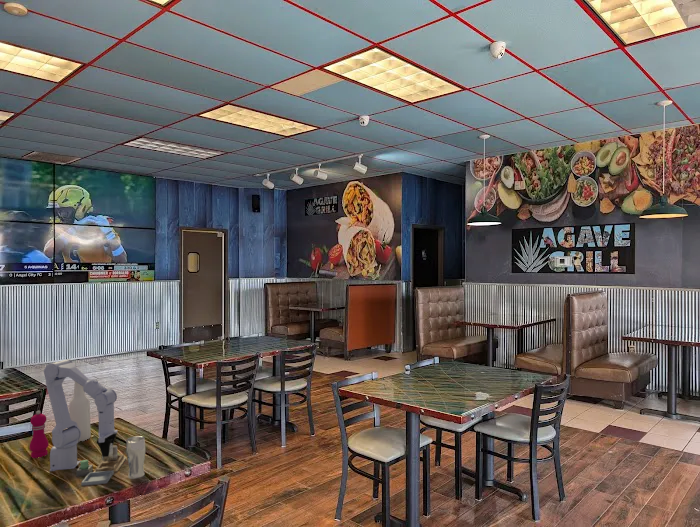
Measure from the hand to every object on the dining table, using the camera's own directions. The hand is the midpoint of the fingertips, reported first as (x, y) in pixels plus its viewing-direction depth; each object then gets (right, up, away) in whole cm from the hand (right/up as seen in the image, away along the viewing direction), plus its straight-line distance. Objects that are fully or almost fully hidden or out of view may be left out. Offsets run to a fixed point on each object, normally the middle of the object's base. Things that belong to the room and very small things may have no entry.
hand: (107, 454), depth 204 cm
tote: (+1, -7, -9) cm, 11 cm away
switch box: (-7, -7, -3) cm, 11 cm away
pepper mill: (-39, -8, +18) cm, 43 cm away
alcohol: (-31, -7, +38) cm, 49 cm away
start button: (-7, -6, -3) cm, 10 cm away
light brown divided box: (-1, -7, +3) cm, 8 cm away
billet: (0, -2, 0) cm, 2 cm away
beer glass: (+14, -7, -6) cm, 17 cm away
